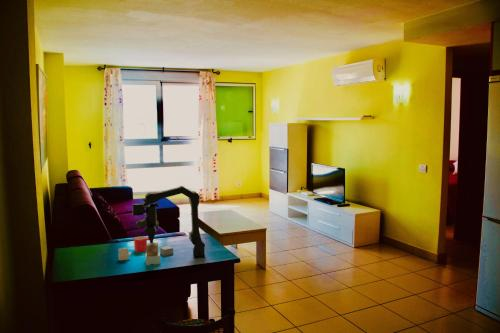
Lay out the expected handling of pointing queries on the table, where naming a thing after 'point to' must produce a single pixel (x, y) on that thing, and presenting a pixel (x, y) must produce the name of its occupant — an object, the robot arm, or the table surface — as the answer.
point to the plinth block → (153, 259)
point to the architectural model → (124, 254)
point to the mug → (140, 243)
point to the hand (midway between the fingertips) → (152, 240)
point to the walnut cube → (152, 249)
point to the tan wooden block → (166, 250)
